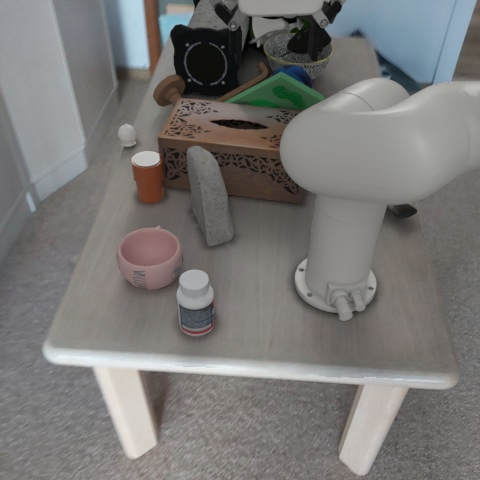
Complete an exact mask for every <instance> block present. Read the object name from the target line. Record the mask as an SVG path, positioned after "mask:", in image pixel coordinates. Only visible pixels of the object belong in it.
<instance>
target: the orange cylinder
mask: <svg viewBox="0 0 480 480" xmlns="http://www.w3.org/2000/svg"><path fill="white" fill-rule="evenodd" d="M130 164H131V171H132V177H133V180H134V182H135V187H136V194H137V198H138V200H139V201H140V202H142V203H145V204H156V203H159V202H161V201H162V200H163V199H164V198H165V187H164V185H163V179H164V168H163V159H162V156H161V155H160V154H159V152H156V151H153V150H151V151H150V150H144V151H139V152H137V153H135V154H133V155H132V157H131V159H130Z"/></svg>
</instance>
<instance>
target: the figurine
mask: <svg viewBox="0 0 480 480" xmlns="http://www.w3.org/2000/svg"><path fill="white" fill-rule="evenodd" d="M303 25H304V23H303V22H302V21H301V20H300V18H298V19H297V23H291V24H288V23H287V22H286V21H284V20H283V19H282V18H280V19H273V20H272V19H265V18H262V17H252V28H253V32H254V36H255V40H251V41H249V43H257V47H260V45H263V46H264V44H265V42H266V41H267V40H269V39H270V38H272V37H275V36H278V35H282V34H289V33H290V30H292V29H293V28H295V27H297V28H298V29H299V30H300V29H301V28H302V26H303Z"/></svg>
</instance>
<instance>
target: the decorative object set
mask: <svg viewBox="0 0 480 480" xmlns="http://www.w3.org/2000/svg"><path fill="white" fill-rule="evenodd" d="M137 134H138V133H137V130H136V128H135V127H134V126H133V125H132V124H129V123H124V124H122V125H120V126H119V128H118V129H117V138H118V139H119V142H120V145H121V146H122V147H128V148H129V147H133V146H136V144H137V141H136V140H137V137H138V135H137Z"/></svg>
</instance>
